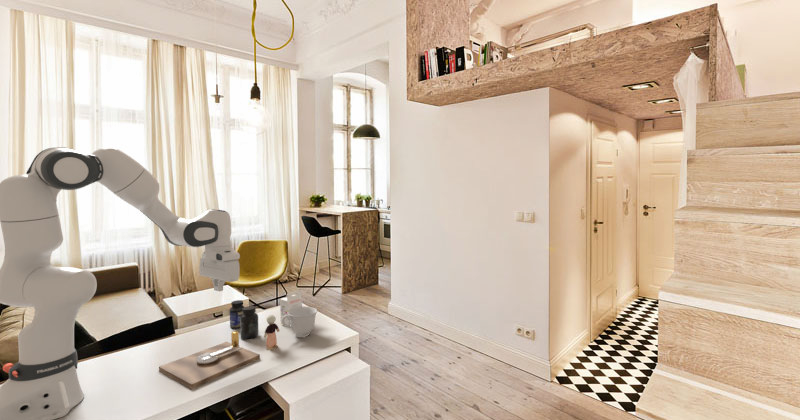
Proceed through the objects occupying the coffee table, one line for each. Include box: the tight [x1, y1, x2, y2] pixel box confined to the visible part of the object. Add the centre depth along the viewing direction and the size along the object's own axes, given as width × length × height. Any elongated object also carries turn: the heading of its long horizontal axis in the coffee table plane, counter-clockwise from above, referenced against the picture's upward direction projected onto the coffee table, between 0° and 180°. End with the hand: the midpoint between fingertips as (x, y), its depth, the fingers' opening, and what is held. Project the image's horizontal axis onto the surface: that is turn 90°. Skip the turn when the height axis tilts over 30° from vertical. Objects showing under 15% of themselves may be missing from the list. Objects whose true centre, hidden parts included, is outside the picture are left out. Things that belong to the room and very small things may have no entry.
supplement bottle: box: [239, 305, 259, 341], centre depth 151 cm, size 7×7×12 cm
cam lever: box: [196, 330, 240, 365], centre depth 130 cm, size 14×7×6 cm, turn 147°
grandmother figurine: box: [263, 314, 280, 351], centre depth 141 cm, size 8×4×13 cm, turn 168°
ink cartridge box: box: [279, 289, 303, 325], centre depth 167 cm, size 9×5×15 cm, turn 147°
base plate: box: [158, 341, 261, 390], centre depth 128 cm, size 24×20×2 cm
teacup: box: [282, 306, 318, 338], centre depth 153 cm, size 12×15×10 cm
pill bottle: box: [229, 299, 245, 330], centre depth 162 cm, size 6×6×11 cm
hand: (218, 290), depth 137 cm, fingers closed
